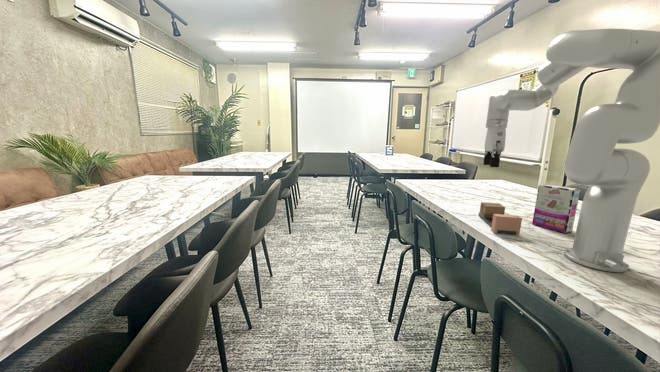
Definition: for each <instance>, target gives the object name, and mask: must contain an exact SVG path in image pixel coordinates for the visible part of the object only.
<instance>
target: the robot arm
mask: <svg viewBox="0 0 660 372" xmlns="http://www.w3.org/2000/svg"><path fill="white" fill-rule="evenodd" d="M545 53H546V55H545V56H546V59H547V61H546V62H544V63H543V64H542V65H541V66H540V67H538V70H537V73H536V74H537V79H538V81H539V82H540V84H539V85H537V86H536V87H534V89H531V90H530V89H529V90H528V89H506V90H504V91H501V92H498V93H492V94H491V95H490V97H489V99H488V106H487V107H488V109H487V116H486V123H485V128H486V129H487V130H486V135H485V141H484V155H483V157H484V158H483V165H484V166H489V167H490V168H499V167H500V162H501V161H500V160H501V157H502V155H501V154H502V153H503V152H504V151H505V147H506V137H507V136H506V134H507V133H506V132H507V128H508V122H509V116H510V111H521V112H522V111H523V112H525V111H527V112H528V111H531V110H535V109H537V108H539V107H541V106H542V105H544V104H545V103H547V102H549V101H550V100H551V99H552V98H553V97H554V96H555V95H556V94H557V92H558V90H559V87H560V85H562V84H563V83H565V82H566V81H568V80H569V79H571V78H573V77H574V76H576V75H577V74H579V73H581V72H582V71H584V70H585V69H587V68H596V69H612V70H613V69H615V70H617V69H619V70H620V69H621V70H631V71H632V72H631V73H630V74H629V75H628V76H627V77H626V78H625V79H624V81H623V82H622V84H621V85H620V88H619V89H618V92H617V96H616V99H615V101H614V103H603V104H599V105H596V106H593V107H592V108H590V109H588V110H587V111H586V112H585V113H584V114H582V116H581V117H580V118H579V120H578V121H577V123H576V125H575V128H574V130H573V134H572V136H571V141H570V143H569V147H568V150H567V153H566V157H565V161H564V167H563V169H564V174H565V176H566V178H567V179H568V180H569V181H570V182H572V183H574V184H576V185H581V186H589V187H588V188H587V190H586V192H585V193H584V196H583V199H582V203H581V207H580V211H579V216H578V221H577V226H576V231H575V233H574V234H575V235H574V240H573V244H572V247H569V248H566V249H564V251H563V255H564V256H565V257H566V258H567V259H568V260H570V261H572V262H574V263H576V264H579V265H581V266H584V267H588V268H590V269H595V270H598V271H604V272H610V273H624V272H627V271H628V270H629V268H630V265H629V264H628V263H627V262H625V261H624V259H625V255H624V254H623V251H624V248H625V245H626V240H627V237H628V233H629V229H630V226H631V221H632V218H633V214H634V211H635V206H636V203H637V200H638V197H639V195H640V192H641V190H642V188H643V186H644V184H645V183H646V181H647V178H648V176H649V174H650V170H651V169H650V168H651V165H650V161H649V159H648V157H646V155H644V154H643V153H642V152H639V151H637V150H635V149H634V150H633V149H628V148H616V145H617V144H619V145H622V144H624V145H625V144H626V145H628V144H638V143H639V144H640V143H641V142H642V143H643V142H645V141H648V140H649V139H650V138H652V137H653V136H654V135H655V133H656V132H657V131H658V128H659V126H660V31H656V30H649V29H648V30H646V29H631V28H630V29H629V28H628V29H627V28H596V29H583V30H580V29H579V30H578V29H576V30H574V29H573V30H569V31H565V32H563V33H561V34H559V35H558V36H556V37H555V38H554V39H553V40H552V41H551V43H550V44H549V45H548V48H547V49H546V52H545Z"/></svg>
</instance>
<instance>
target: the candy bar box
mask: <svg viewBox="0 0 660 372" xmlns="http://www.w3.org/2000/svg"><path fill="white" fill-rule="evenodd" d="M580 194H581V188H576V187H575V188H574V187H569V186H562V185H561V186H560V185H553V184H539V185H538V189H537V193H536V200H535V207H534V212H533V217H532V225H534V226H537V227H540V228H544V229H548V230H552V231H556V232H559V233H562V234H568V233H572V232H573V229H574V228H573V227H574V224H575V217H576V214H577V208H578V205H579V204H578V203H579V200H580Z"/></svg>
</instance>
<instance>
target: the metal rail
mask: <svg viewBox="0 0 660 372" xmlns="http://www.w3.org/2000/svg"><path fill="white" fill-rule="evenodd" d="M478 217H479V218H480V219H482V221H483V222H484V223H486V224H487V226H488V227H490V228H491V227H492V220H493V218H484V217H483V216H482V215H481V214H480V211H479V212H478ZM497 231H498V232H497V234H498V233H499V230H497ZM502 231H506V230H500V233H501V232H502ZM516 232H517V231H514V233H516ZM500 233H499V234H498V235H501V234H500ZM502 233H503V232H502ZM504 233H505V232H504ZM508 233H511V232H510V231H509V232H508V231H507V232H506V234H505V235H508ZM512 233H513V231H512ZM512 233H511V235H510V234H509V235H508V236H516V234H515V235H514V233H513V234H512Z"/></svg>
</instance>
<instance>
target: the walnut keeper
mask: <svg viewBox="0 0 660 372" xmlns="http://www.w3.org/2000/svg"><path fill="white" fill-rule="evenodd" d="M505 210H506V206H504V205H503V204H501V203H497V202H485V201H484V202H483V201H481V202H480V208H479V212H480V214H481V215H482V216H483V217H484V218H493V214H503V215H505Z"/></svg>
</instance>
